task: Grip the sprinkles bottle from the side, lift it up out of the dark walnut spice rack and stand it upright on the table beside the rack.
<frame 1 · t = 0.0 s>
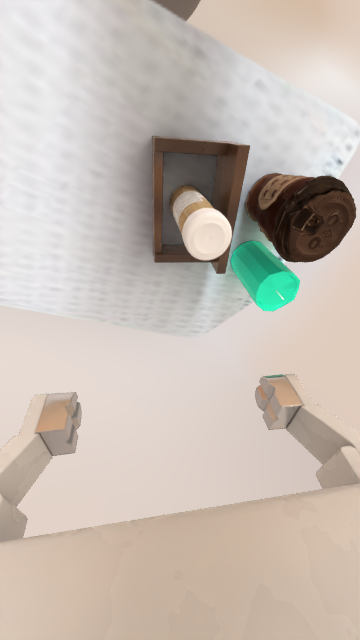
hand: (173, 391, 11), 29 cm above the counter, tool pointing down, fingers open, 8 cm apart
coffee cup: (266, 197, 34), on the counter
candle: (247, 258, 40), on the counter
sprinkles bottle: (185, 202, 33), resting in spice rack
spice rack: (185, 203, 33), on the counter
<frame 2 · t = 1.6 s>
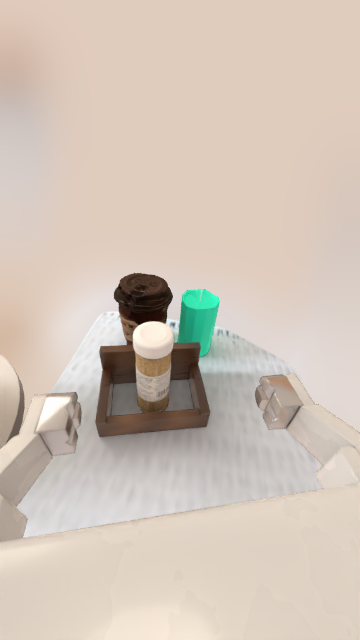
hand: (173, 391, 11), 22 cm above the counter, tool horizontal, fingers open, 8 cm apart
coffee cup: (144, 346, 44), on the counter
candle: (193, 346, 45), on the counter
sprinkles bottle: (152, 402, 36), resting in spice rack
spice rack: (152, 401, 35), on the counter
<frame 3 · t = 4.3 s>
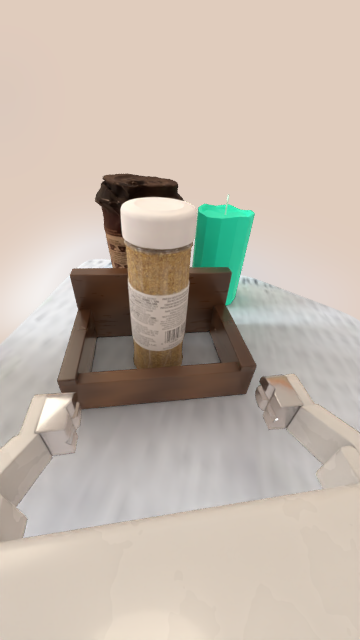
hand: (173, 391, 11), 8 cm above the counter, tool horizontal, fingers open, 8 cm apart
coffee cup: (143, 295, 31), on the counter
candle: (211, 295, 32), on the counter
sprinkles bottle: (157, 361, 23), resting in spice rack
spice rack: (157, 360, 23), on the counter
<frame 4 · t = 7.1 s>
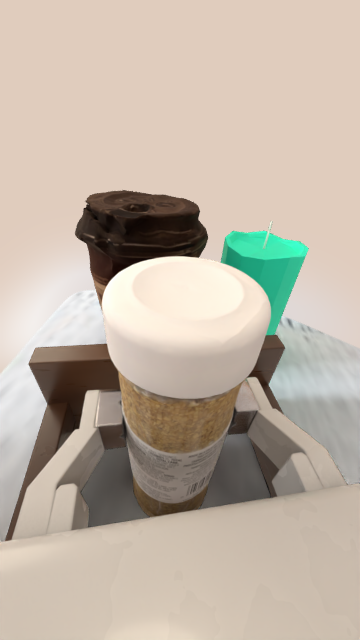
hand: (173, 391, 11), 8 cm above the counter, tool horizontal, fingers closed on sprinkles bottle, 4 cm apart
coffee cup: (146, 348, 24), on the counter
candle: (236, 346, 25), on the counter
sprinkles bottle: (169, 480, 15), resting in spice rack, touching gripper
spice rack: (169, 479, 15), on the counter
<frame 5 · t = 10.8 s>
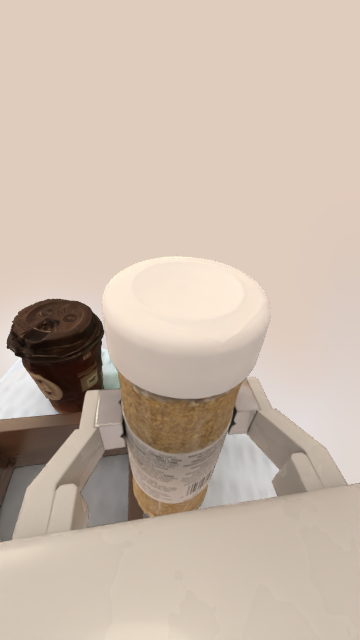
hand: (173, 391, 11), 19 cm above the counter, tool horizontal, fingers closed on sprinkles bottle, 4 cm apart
coffee cup: (78, 396, 32), on the counter
sprinkles bottle: (169, 480, 15), point 11 cm above the counter, touching gripper
spice rack: (67, 501, 23), on the counter
when the fingers open (7 cm above the counter, at t = 14.7 s): sprinkles bottle stays where it is, on the counter.
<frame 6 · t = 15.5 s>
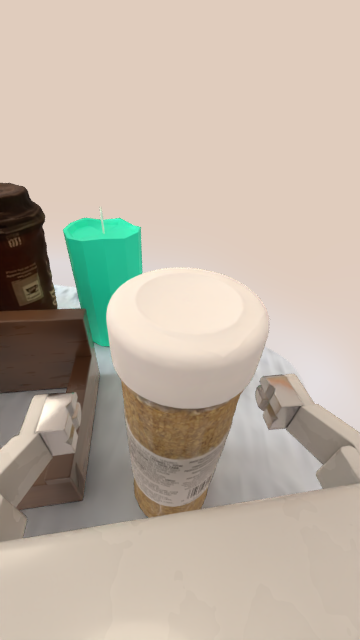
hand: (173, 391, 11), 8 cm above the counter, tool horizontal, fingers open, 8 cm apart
coffee cup: (26, 329, 25), on the counter
candle: (116, 328, 26), on the counter
sprinkles bottle: (170, 482, 15), on the counter
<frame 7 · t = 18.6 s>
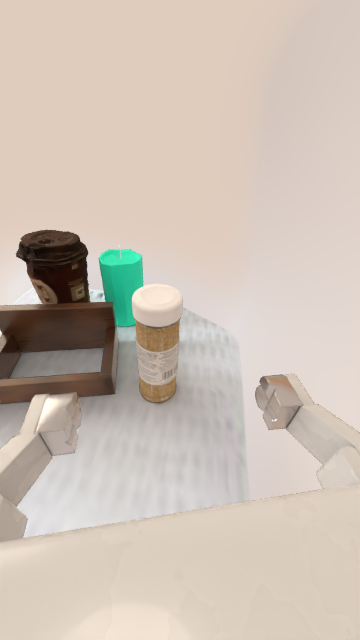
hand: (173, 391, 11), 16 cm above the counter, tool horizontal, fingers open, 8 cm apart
coffee cup: (70, 316, 40), on the counter
candle: (126, 316, 41), on the counter
sprinkles bottle: (157, 389, 30), on the counter
spice rack: (60, 369, 31), on the counter
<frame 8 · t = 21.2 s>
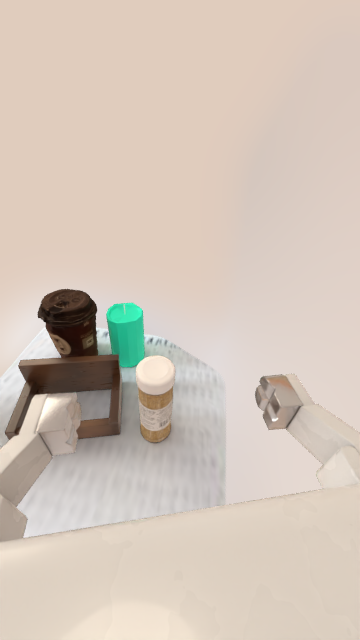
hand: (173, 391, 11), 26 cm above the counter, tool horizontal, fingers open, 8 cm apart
coffee cup: (80, 357, 46), on the counter
candle: (129, 356, 47), on the counter
sprinkles bottle: (155, 429, 36), on the counter
spice rack: (74, 411, 37), on the counter
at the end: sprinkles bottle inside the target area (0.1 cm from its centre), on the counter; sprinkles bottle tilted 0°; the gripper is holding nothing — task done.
